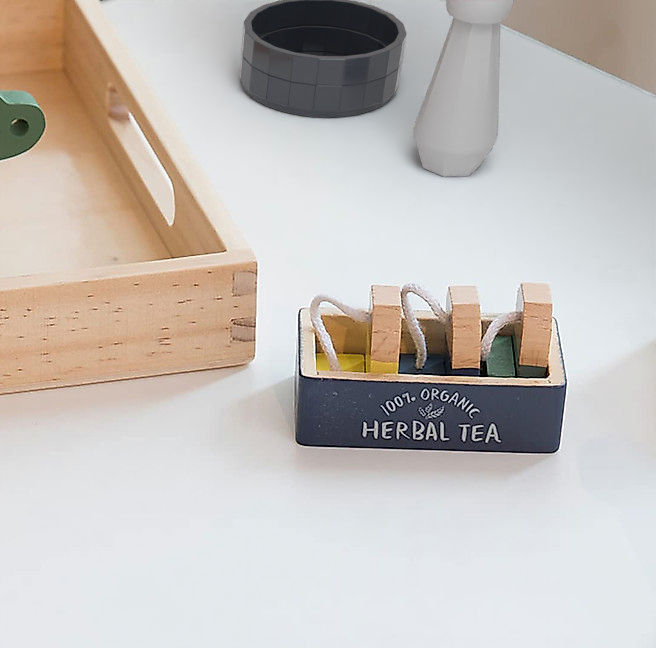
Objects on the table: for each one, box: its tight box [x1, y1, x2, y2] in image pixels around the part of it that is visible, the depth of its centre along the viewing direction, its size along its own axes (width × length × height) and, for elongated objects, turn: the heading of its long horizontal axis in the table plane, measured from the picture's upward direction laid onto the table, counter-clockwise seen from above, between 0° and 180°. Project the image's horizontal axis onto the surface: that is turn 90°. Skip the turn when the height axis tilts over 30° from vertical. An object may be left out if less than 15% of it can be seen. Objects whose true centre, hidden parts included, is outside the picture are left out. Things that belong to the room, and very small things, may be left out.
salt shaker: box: [412, 0, 515, 178], centre depth 104 cm, size 6×6×13 cm
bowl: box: [239, 0, 408, 118], centre depth 117 cm, size 12×12×5 cm
